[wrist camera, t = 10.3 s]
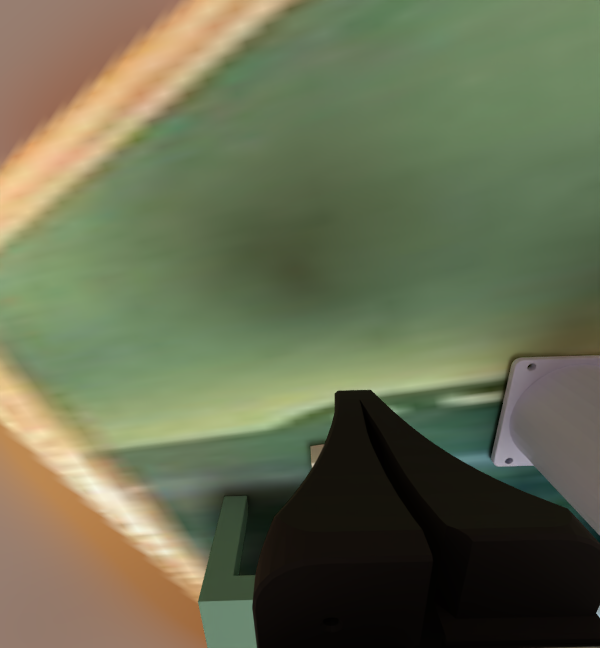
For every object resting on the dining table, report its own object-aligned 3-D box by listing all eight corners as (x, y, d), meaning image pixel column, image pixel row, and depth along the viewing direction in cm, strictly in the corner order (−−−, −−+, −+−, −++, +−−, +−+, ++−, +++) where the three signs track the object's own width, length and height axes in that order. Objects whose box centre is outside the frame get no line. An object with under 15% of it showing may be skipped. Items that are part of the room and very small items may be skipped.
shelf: (446, 489, 23) (502, 591, 17) (427, 607, 27) (465, 722, 21) (224, 496, 23) (198, 601, 17) (240, 613, 27) (224, 730, 21)
